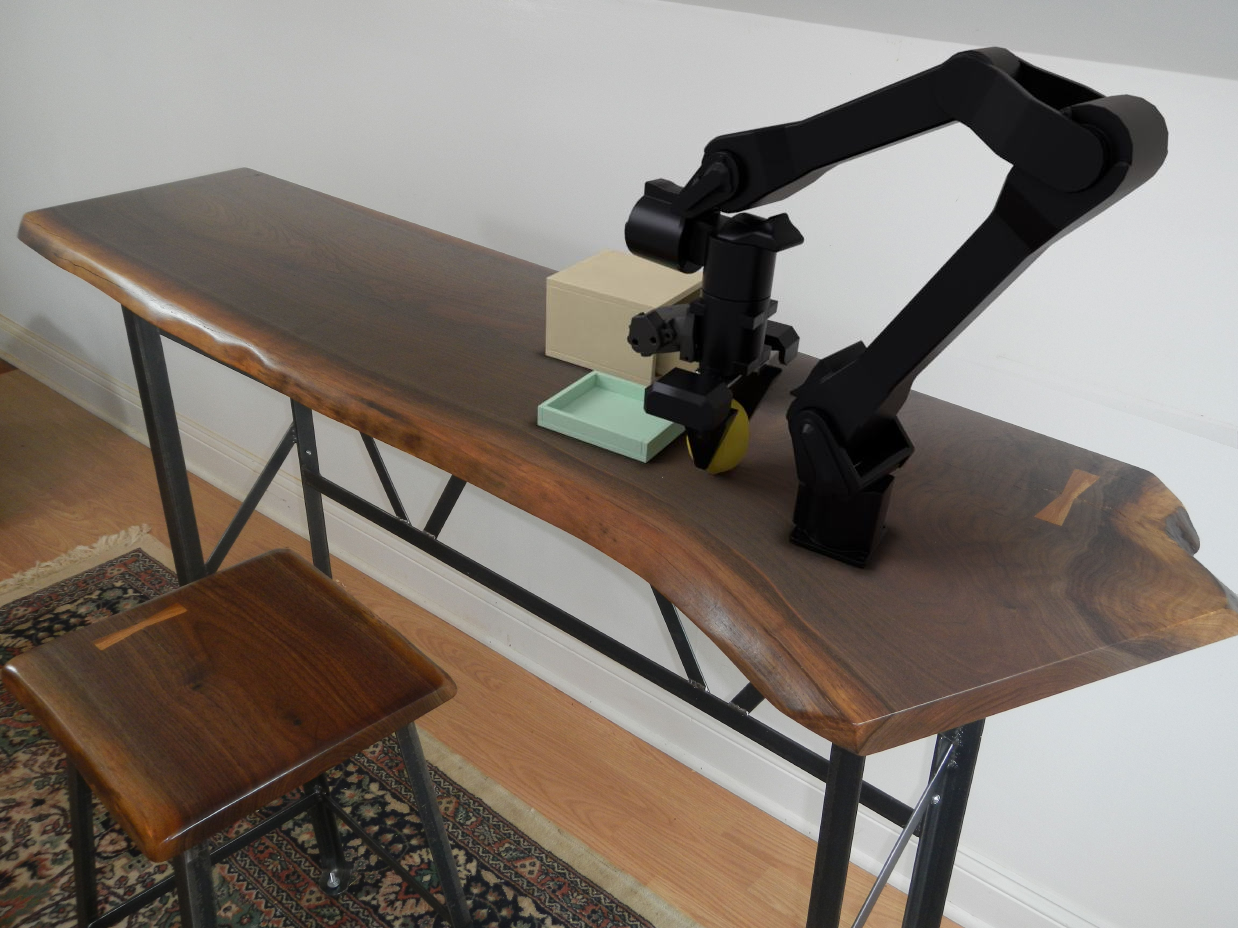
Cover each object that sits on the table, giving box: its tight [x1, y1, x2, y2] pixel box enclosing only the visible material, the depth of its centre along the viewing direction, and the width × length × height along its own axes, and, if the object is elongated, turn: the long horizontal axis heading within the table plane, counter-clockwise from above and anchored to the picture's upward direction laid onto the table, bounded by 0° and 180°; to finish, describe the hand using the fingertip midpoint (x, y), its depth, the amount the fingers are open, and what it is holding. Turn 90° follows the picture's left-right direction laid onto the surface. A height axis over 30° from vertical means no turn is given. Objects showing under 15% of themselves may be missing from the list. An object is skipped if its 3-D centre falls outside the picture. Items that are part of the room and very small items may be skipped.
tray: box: [537, 370, 686, 464], centre depth 94 cm, size 12×10×2 cm
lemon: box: [686, 399, 751, 475], centre depth 85 cm, size 6×6×8 cm
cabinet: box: [545, 248, 703, 387], centre depth 106 cm, size 14×13×9 cm
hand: (716, 454), depth 86 cm, fingers closed on lemon, 5 cm apart
